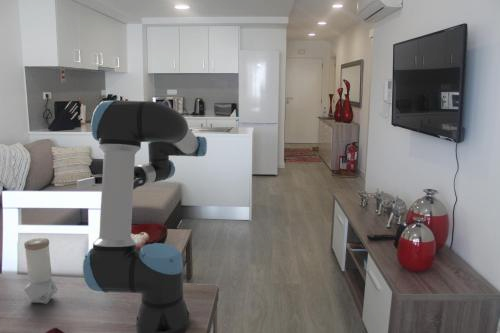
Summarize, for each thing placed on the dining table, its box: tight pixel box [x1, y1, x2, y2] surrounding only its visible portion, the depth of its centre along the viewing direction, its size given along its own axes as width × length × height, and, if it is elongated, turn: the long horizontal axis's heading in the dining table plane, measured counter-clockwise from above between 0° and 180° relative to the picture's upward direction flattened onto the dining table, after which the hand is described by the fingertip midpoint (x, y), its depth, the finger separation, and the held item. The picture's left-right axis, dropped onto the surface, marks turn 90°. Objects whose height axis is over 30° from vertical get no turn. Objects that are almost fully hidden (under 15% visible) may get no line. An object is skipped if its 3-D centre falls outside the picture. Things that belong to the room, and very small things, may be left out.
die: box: [23, 278, 58, 305], centre depth 132 cm, size 8×9×10 cm
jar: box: [23, 237, 53, 283], centre depth 130 cm, size 7×7×12 cm
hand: (90, 188), depth 137 cm, fingers open, 13 cm apart
